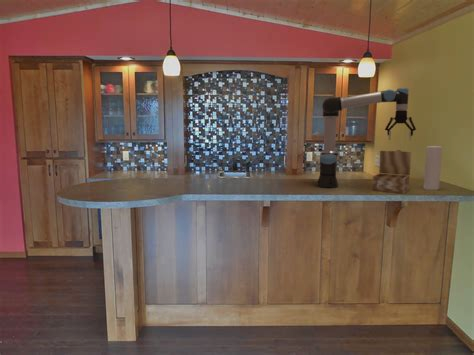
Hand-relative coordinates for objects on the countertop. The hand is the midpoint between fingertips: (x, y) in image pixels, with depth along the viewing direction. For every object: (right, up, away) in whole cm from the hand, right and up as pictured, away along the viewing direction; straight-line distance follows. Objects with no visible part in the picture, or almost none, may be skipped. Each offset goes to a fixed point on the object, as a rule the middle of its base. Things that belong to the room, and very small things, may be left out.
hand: (399, 140), depth 250 cm
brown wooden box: (-11, -36, -10) cm, 39 cm away
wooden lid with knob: (-7, -17, -8) cm, 20 cm away
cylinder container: (+19, -35, -7) cm, 40 cm away
